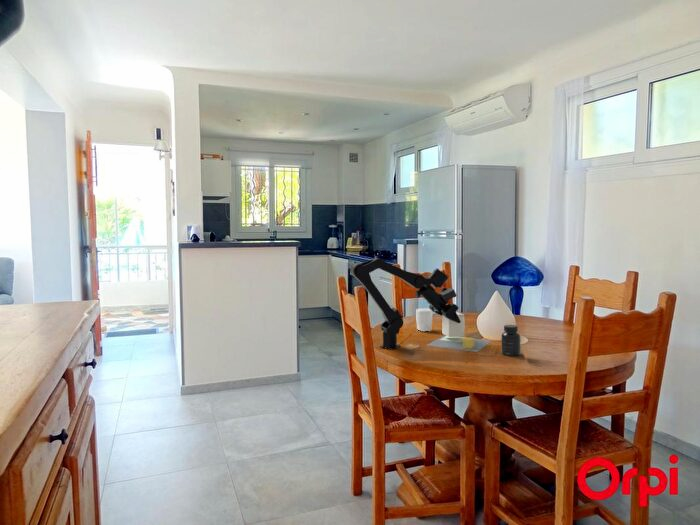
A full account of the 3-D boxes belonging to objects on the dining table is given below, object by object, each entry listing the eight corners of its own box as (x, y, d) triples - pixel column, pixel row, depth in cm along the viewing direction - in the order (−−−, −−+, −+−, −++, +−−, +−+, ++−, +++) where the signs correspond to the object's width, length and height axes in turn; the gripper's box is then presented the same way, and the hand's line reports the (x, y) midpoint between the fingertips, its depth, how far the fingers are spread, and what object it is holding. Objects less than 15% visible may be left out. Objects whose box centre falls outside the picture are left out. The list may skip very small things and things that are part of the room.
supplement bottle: (505, 353, 187) (505, 323, 186) (523, 356, 182) (523, 325, 181) (498, 357, 181) (498, 326, 180) (516, 360, 177) (516, 328, 176)
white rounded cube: (464, 335, 204) (464, 314, 203) (449, 337, 202) (449, 315, 201) (457, 332, 210) (457, 311, 210) (442, 333, 209) (442, 312, 208)
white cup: (413, 331, 228) (413, 310, 227) (419, 328, 235) (419, 307, 234) (429, 332, 224) (429, 311, 224) (434, 329, 231) (434, 308, 231)
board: (476, 354, 186) (476, 342, 185) (426, 348, 197) (426, 336, 197) (491, 343, 203) (491, 332, 202) (444, 338, 214) (444, 327, 213)
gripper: (454, 285, 194) (479, 310, 198) (435, 279, 213) (459, 303, 216) (435, 305, 193) (461, 330, 197) (419, 298, 212) (442, 321, 215)
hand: (456, 320), depth 206 cm, fingers closed on white rounded cube, 7 cm apart
